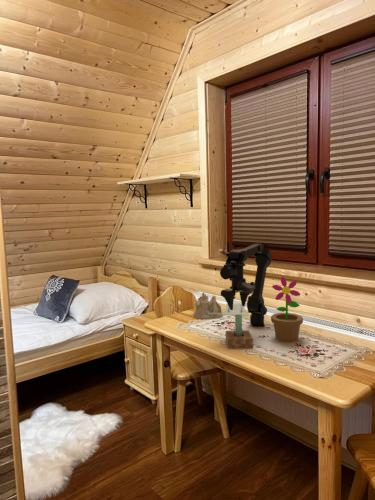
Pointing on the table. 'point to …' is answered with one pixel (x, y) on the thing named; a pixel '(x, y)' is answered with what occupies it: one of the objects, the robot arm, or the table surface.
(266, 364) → the table surface
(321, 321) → the table surface
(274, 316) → the flowerpot
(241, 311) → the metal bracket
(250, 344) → the hole block
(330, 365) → the table surface
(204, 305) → the ceramic cottage
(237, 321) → the peg
